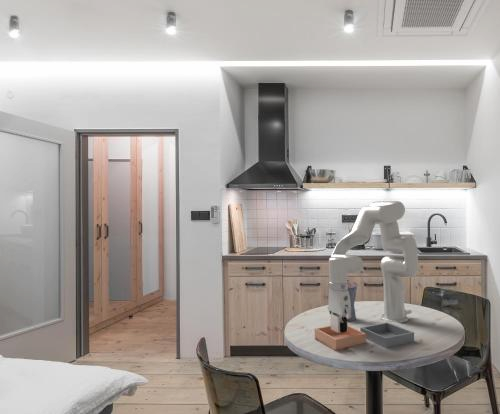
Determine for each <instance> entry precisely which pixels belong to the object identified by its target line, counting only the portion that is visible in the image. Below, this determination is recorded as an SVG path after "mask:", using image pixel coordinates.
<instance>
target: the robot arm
mask: <svg viewBox="0 0 500 414" xmlns="http://www.w3.org/2000/svg"><path fill="white" fill-rule="evenodd" d="M405 212H406V207H405V205H404V204H403V202H401V201H398V200H389V201H388V200H387V201H385V200H383V201H379V200H378V201H372V202H370V203H369V204H368V205H365V206H363V207H361V209H360V210H359V212H358V214H357V216H356V219H355V221H354V224H353V226H352V228H351V231H350V232H349V233H347V234H346V235H344V237H343V238H341V240H339V241H338V242H337V243H336V245H335V246H334V249H333V251H332V253H331V256H330V257H329V258H328V287H329V288H328V295H327V296H328V299H327V301H328V302H327V303H328V305H327V310H328V312H329V316H330V315H334V314H338V315H340V320H341V322H340V332H346V331H347V322H349V321H348V320H349V319H350V318H351V303H350V295H349V291H348V287H347V280H348V274H356V273H359V272H360V271H362V269H363V268H364V261H363V259H362V258H361V257H360V256H358V255H354V254H348V251H350V250H351V249H353V248H354V247H357V246H359V245H363V244H365V243H367V242H368V241H369V240H370V238H371V236H372V234H373V233H372V232H373V231H374V227H375V226H376V225H379V229H380V237H381V238H380V239H381V247H382V249H383V251H384V253H388V254H390V255H385V256H384V257H382V258H381V260H380V269H381V273H382V283H383V314H381V315H380V319H381V320H382V321H386V322H387V321H388V322H394V323H399V324H404V323H407V322H409V317H408V316H407V315H411V314H412V313H413V312H412V310H411V309H407V310H406V309H405V308H406V307H405V283H404V281H403V279H402V277H405V278H414V277H416V276H417V275H418V274H419V266H420V265H419V257H418V255H419V254H418V244H417V242H416V241H417V240H416V239H415V237H414V236H412V235H410V234H401V233H400V227H399V223H398V221H400V220H401V219H402V218H403V217H404V215H405ZM391 254H395V255H391ZM401 255H403V256H401ZM343 313H344V314H343ZM343 316H344V318H343Z"/></svg>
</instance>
